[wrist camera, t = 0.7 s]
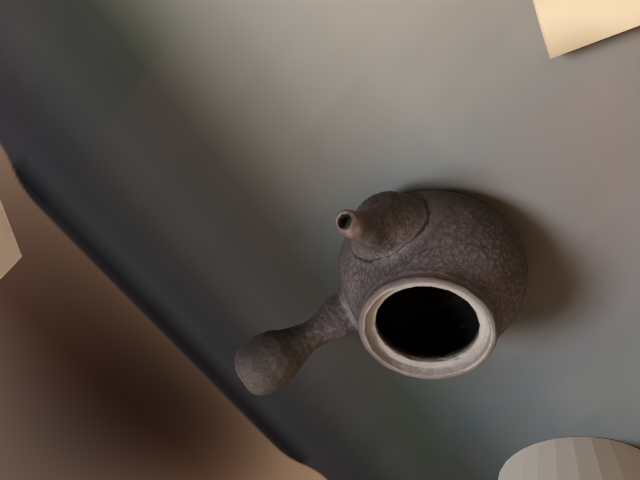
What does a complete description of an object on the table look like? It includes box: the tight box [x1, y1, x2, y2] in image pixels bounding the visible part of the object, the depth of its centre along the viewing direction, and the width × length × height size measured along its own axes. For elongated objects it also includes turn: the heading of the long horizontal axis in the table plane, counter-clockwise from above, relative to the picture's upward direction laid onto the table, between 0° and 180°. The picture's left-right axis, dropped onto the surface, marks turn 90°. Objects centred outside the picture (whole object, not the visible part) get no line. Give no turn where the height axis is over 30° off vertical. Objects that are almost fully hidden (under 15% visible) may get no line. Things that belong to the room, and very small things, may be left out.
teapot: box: [234, 190, 528, 395], centre depth 38 cm, size 19×15×10 cm
